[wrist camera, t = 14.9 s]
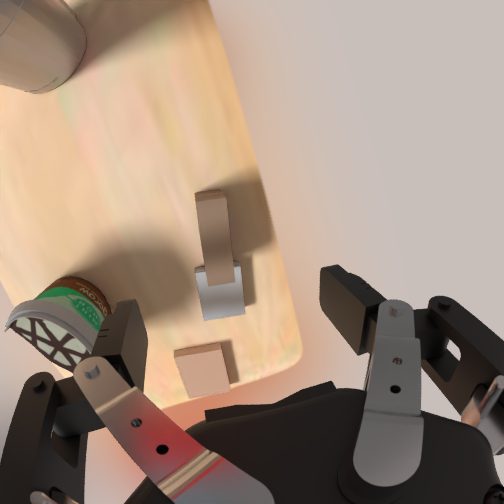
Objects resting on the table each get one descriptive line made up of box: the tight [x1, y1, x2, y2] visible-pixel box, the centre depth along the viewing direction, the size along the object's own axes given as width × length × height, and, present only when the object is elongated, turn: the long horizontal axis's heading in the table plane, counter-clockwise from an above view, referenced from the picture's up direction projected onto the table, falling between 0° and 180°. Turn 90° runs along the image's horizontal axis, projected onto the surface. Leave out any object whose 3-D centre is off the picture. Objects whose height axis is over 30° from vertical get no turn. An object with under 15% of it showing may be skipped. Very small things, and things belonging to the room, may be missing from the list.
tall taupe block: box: [195, 190, 246, 321], centre depth 29 cm, size 14×5×5 cm, turn 5°
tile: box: [174, 343, 231, 398], centre depth 36 cm, size 2×6×8 cm
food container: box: [5, 277, 111, 373], centre depth 25 cm, size 12×6×10 cm, turn 47°
